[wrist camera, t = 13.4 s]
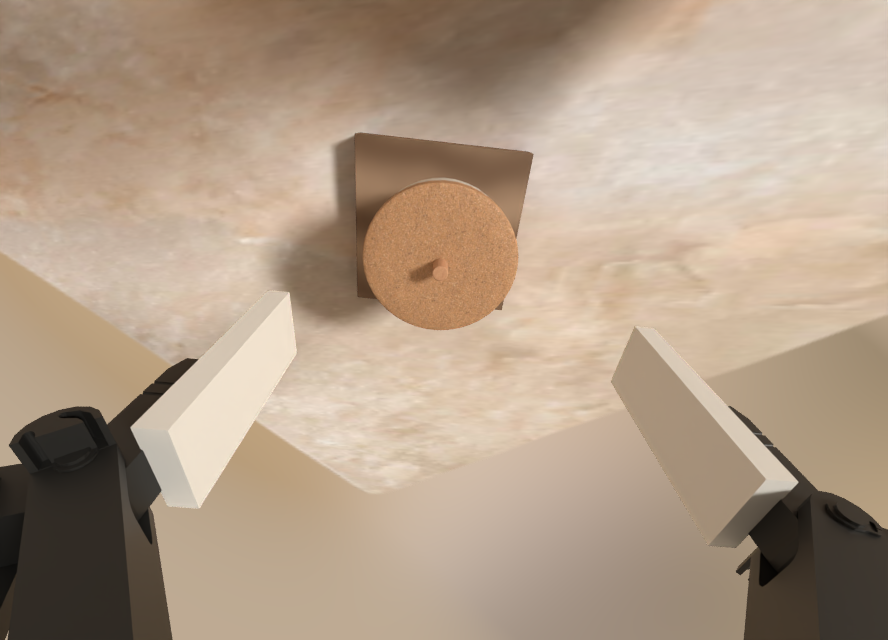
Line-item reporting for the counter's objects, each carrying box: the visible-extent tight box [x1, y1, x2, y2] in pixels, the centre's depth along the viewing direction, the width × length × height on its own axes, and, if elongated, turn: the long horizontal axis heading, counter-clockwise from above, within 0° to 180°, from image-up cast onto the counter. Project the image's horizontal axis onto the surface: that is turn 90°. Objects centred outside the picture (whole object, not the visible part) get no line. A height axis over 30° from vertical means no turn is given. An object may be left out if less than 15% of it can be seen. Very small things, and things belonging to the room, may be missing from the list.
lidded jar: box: [363, 178, 518, 330], centre depth 27 cm, size 11×11×9 cm
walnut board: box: [355, 133, 533, 310], centre depth 32 cm, size 14×14×2 cm
